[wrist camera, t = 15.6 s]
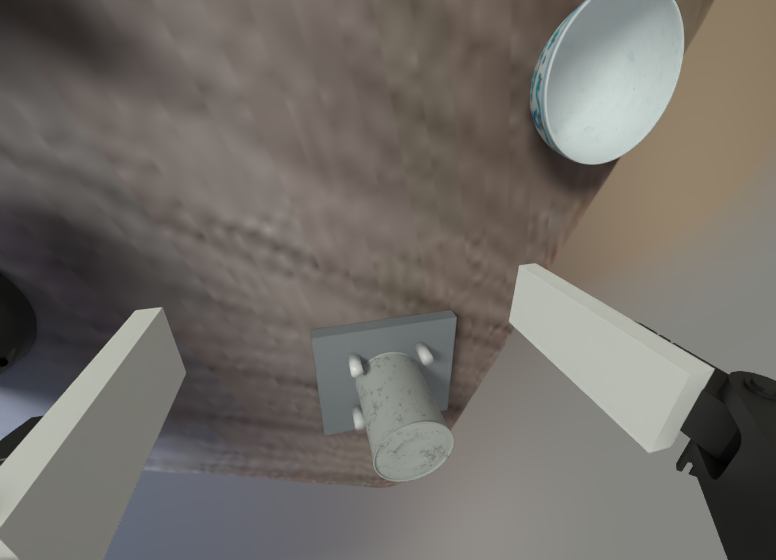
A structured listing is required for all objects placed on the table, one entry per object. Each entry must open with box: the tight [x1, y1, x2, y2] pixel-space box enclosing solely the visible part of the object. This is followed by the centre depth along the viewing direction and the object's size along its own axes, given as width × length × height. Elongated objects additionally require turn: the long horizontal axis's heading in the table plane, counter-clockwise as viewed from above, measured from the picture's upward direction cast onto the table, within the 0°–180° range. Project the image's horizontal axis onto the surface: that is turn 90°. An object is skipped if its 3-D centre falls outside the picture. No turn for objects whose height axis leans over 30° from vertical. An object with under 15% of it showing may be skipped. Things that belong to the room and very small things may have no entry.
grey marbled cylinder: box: [356, 352, 454, 482], centre depth 42 cm, size 10×10×12 cm
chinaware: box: [530, 0, 684, 165], centre depth 34 cm, size 15×15×8 cm
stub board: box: [311, 310, 457, 436], centre depth 47 cm, size 20×18×5 cm
